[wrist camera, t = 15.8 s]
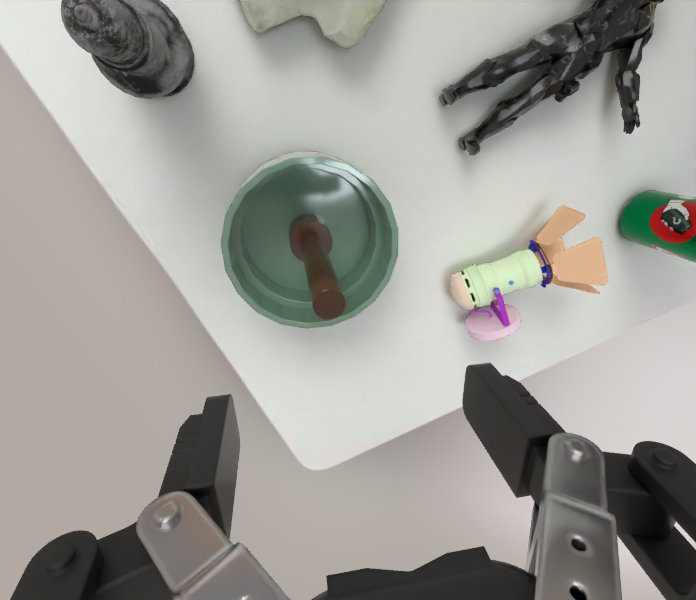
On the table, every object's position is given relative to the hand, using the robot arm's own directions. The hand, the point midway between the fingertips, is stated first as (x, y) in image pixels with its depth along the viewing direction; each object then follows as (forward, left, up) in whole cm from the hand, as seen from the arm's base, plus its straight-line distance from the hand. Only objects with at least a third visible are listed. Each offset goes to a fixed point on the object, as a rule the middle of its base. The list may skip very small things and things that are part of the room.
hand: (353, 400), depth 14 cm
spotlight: (+5, +19, -24) cm, 31 cm away
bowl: (0, 0, -24) cm, 24 cm away
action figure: (-13, +21, -24) cm, 34 cm away
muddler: (0, 0, -23) cm, 23 cm away
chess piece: (-13, -10, -24) cm, 29 cm away
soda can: (+1, +33, -24) cm, 41 cm away
